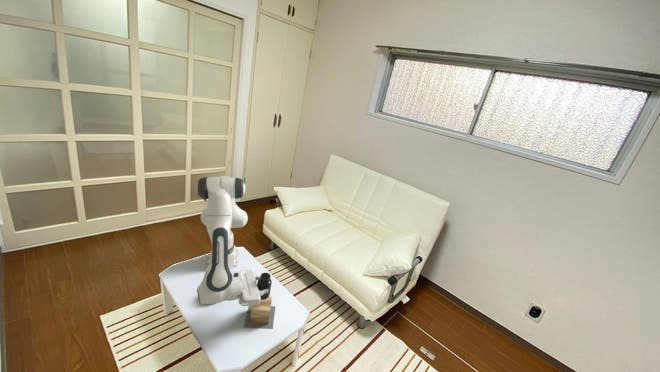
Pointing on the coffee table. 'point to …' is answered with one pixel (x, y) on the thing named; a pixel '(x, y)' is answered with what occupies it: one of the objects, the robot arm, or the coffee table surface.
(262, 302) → the tower top
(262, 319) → the tower base
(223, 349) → the coffee table surface
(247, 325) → the mat
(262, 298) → the supplement bottle
